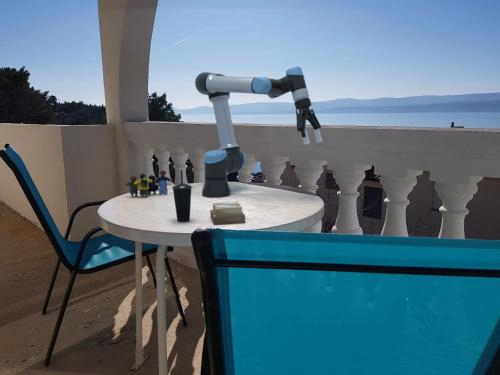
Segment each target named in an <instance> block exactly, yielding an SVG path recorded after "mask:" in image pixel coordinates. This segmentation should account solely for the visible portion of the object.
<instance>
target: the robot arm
mask: <svg viewBox="0 0 500 375" xmlns="http://www.w3.org/2000/svg"><path fill="white" fill-rule="evenodd" d="M194 87H195V88H196V90H197V91H198V93H200V94H201V95H204V96H205V95H206V96H207V97H208V101H209V102H210V103H212V106H213V113H214V117H215V122H216V128H217V135H218V139H219V143H220V147H219V149H213V150H209V151H206V152H205V153H204V160H203V161H204V183H203V186H202V191H201V196H202V197H205V198H225V197H230V196H231V194H232V191H231V187H230V184H229V182H228V174H231V173H237V172H239V171H241V170H242V169H243V168H244V167H245V165H246V163H247V157H246V154H245V152H243V151H242V150H241V148H240V147H241V146H240V144H238V143H237V142H236V141H237V140H236V135H235V131H234V126H233V120H232V115H231V110H230V109H231V108H230V104H229V99H230V98H231V96H230V95H231V93H234V94H235V93H236V94H255V95H267V96H268V98H270V99H273V100H274V99H276V98H280V97H281V96H284V95H286V94H287V93H291V96H292V99H293V100H292V101H293V102H294V103H293V104H294V106H295V113H296V116H295V118H296V130H297V132H300V134H301V139H302V143H303V145H304V146H306V145H308V144H311V142H310V138H309V135H308V131H307V129H306V123H307V121H308V122H309V123H310V126H311V127H312V128H313V133H314V134H313V135H314V136H315V141H316V144H319V143H322V142H324V141H323V138H322V135H321V130H320V129H321V128H322V126H321V124H320V122H319V119H318V118H317V115H316V114H315V111H314V108H312V109H311V108H310V107H311V106H312V102H311V101H312V100H311V99H310V94H309V89H308V87H307V85H306V80H305V75H304V73H303V69H302V68H301V66H298V65H297V66H292V67H289V68H288V69H287V70H286V72H285V76H283V77H281V78H278V79H276V78H270V77H266V76H257V77H256V76H232V75H231V76H230V75H229V76H228V75H225V74H222V73H213V72H210V71H209V72H208V71H203V72H200V73H199V74H198V75H196V77H195V80H194Z"/></svg>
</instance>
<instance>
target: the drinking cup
mask: <svg viewBox="0 0 500 375" xmlns="http://www.w3.org/2000/svg"><path fill="white" fill-rule="evenodd" d="M183 173H184V172H183V170H181V169H180V182H179V183H176V184H175V185H173V186H172V187H171V188H172V192H173V198H174V199H173V200H174V206H175V213H176V214H175V215H176V221H177V222H178V223H187V222H190V221H191V219H190V218H191V205H192V204H191V203H192V202H191V201H192V188H193V185H191V184H188V183H184V179H183V177H184V174H183Z"/></svg>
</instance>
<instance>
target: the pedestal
mask: <svg viewBox="0 0 500 375" xmlns="http://www.w3.org/2000/svg"><path fill="white" fill-rule="evenodd" d="M209 211H210V219H211V222H212V224H213V226H220V225H221V226H222V225H234V224H235V225H237V224H238V225H239V224H246V215H245V213H244V212H243V207H242V205H241V204H240V203H239V202H238V201H221V202H213V203H212V209H210V210H209Z"/></svg>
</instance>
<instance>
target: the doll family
mask: <svg viewBox="0 0 500 375" xmlns="http://www.w3.org/2000/svg"><path fill="white" fill-rule="evenodd" d="M159 174H160V175H161V176H159V177H156V176H155V175H152V174H150V175H149V176H148V178H147V176H146V175H147V174H145V173H140V175H139V179H137V176H135V175H134V176H133V175H132V176H130V177H129V179H130V181H128V182H127V183H126V182H125V186H126V187H127V186H128V187H129V194H130V199H135V198H139V196H140V199H147V198H150V197H151V196H152V195H153V196H157V192H159V193H158V195H159V196H168V189H169V188H168V183H167V182H171V183H173V180H172V179H171V178H170V177H168V176H166V174H167V171H166V170H164V169H162V170H160V171H159Z"/></svg>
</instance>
